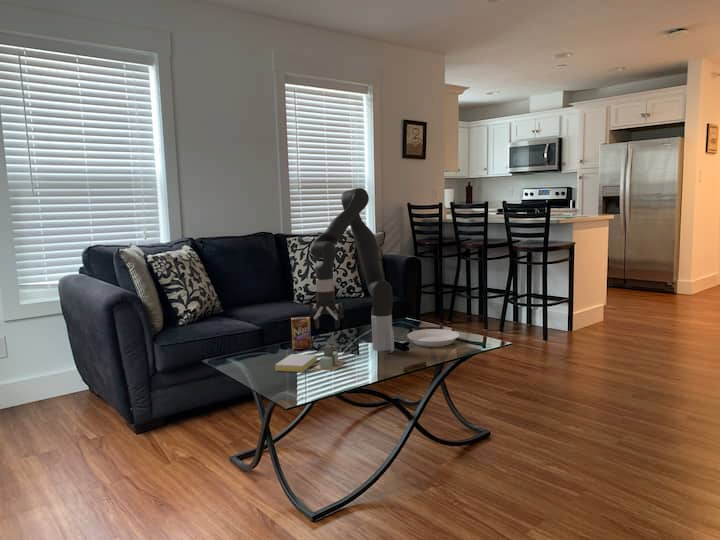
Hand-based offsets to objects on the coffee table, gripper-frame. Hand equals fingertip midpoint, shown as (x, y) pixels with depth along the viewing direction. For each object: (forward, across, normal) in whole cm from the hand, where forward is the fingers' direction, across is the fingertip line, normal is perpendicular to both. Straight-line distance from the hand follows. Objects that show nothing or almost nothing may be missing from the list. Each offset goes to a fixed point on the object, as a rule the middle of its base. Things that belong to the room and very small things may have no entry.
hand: (327, 328), depth 231 cm
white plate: (+17, -36, -48) cm, 63 cm away
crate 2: (+16, 0, -4) cm, 16 cm away
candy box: (+17, +24, -28) cm, 41 cm away
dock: (+17, +13, +3) cm, 22 cm away
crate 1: (+16, 0, +4) cm, 16 cm away
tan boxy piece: (+18, 0, 0) cm, 18 cm away
